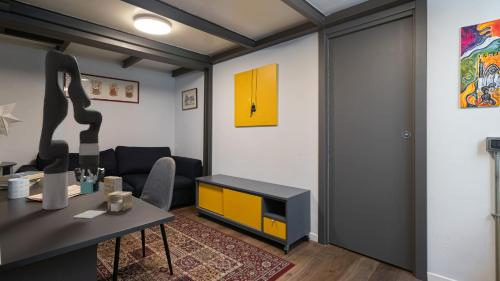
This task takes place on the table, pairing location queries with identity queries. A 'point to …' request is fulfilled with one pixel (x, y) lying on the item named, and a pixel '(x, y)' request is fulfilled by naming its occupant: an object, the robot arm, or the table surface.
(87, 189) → the block
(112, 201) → the tunnel
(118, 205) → the light grey rectangular block
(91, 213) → the mat
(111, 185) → the supplement box
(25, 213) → the table surface
